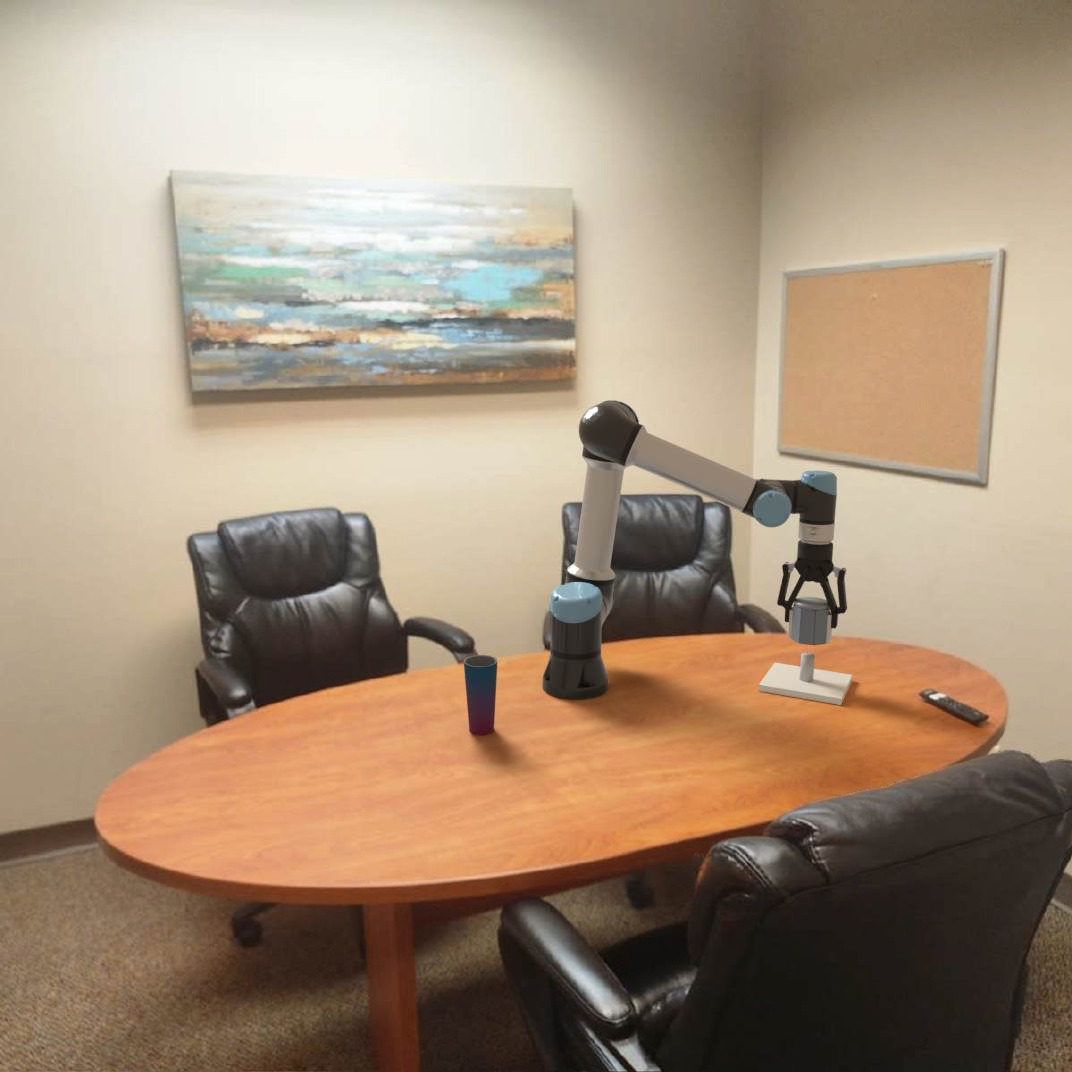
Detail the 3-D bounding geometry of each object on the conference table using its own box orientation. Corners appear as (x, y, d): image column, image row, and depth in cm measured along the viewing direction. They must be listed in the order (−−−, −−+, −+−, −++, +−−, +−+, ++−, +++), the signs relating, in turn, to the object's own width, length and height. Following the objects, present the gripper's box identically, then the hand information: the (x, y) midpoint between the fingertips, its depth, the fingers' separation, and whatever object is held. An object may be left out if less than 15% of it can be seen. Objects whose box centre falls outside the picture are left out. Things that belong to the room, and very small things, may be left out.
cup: (458, 733, 179) (457, 663, 176) (476, 720, 185) (475, 652, 182) (487, 739, 176) (486, 668, 173) (504, 727, 182) (503, 658, 179)
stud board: (758, 690, 201) (760, 659, 199) (774, 668, 215) (776, 639, 213) (841, 705, 193) (843, 672, 191) (852, 680, 207) (854, 650, 205)
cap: (789, 642, 200) (791, 603, 198) (796, 632, 206) (798, 595, 204) (823, 646, 196) (826, 608, 194) (829, 637, 203) (832, 599, 201)
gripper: (765, 539, 198) (760, 636, 203) (861, 548, 189) (854, 650, 193) (773, 533, 204) (768, 627, 209) (866, 541, 195) (859, 640, 200)
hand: (809, 638), depth 201 cm, fingers closed on cap, 8 cm apart
